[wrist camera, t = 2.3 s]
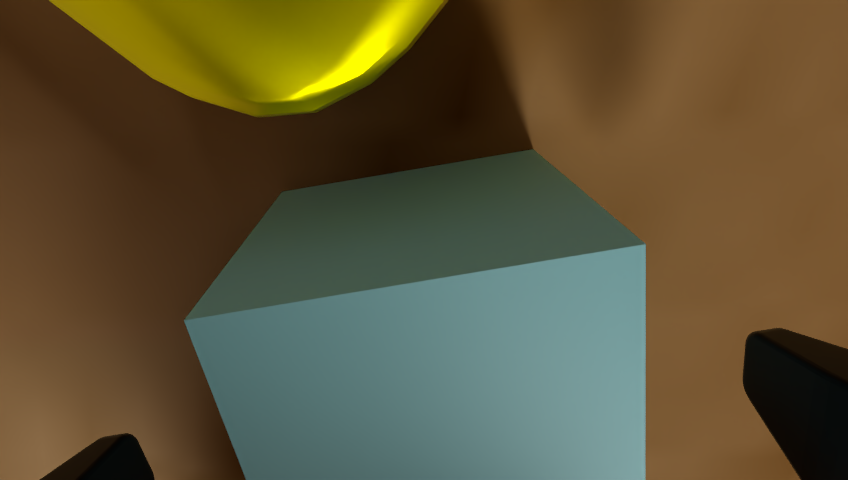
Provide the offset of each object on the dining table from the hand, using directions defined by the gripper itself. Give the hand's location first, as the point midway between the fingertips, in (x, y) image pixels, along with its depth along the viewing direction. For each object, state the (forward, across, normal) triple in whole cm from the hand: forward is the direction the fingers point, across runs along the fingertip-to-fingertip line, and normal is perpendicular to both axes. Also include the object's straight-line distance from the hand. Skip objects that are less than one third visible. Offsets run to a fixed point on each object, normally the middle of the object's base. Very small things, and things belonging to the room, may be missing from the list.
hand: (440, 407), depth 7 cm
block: (+4, 0, 0) cm, 4 cm away
